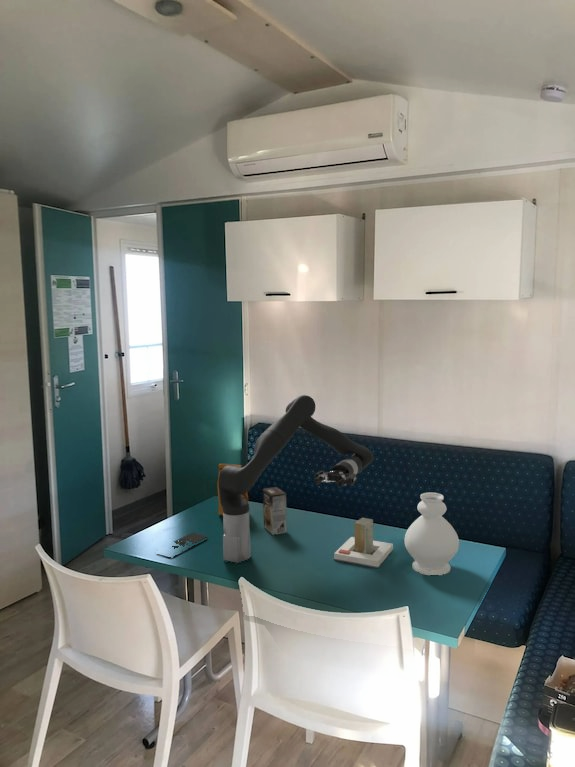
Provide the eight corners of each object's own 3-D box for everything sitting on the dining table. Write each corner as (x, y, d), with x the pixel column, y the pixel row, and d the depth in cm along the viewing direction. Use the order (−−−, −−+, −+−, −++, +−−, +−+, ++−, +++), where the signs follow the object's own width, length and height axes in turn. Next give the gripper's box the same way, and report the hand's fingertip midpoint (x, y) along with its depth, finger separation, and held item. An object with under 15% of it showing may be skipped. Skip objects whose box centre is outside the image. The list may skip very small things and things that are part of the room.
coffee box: (263, 527, 254) (261, 488, 252) (278, 524, 257) (276, 486, 254) (272, 535, 246) (271, 495, 244) (287, 532, 249) (286, 492, 246)
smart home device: (154, 550, 232) (191, 532, 248) (155, 554, 232) (192, 536, 249) (171, 555, 227) (208, 536, 244) (172, 559, 228) (208, 540, 244)
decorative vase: (394, 561, 221) (394, 491, 217) (438, 552, 227) (439, 484, 223) (423, 583, 204) (423, 508, 200) (469, 573, 210) (471, 500, 206)
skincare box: (363, 549, 230) (362, 516, 228) (373, 551, 228) (373, 519, 226) (354, 555, 225) (353, 522, 223) (364, 558, 222) (364, 524, 221)
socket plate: (378, 568, 216) (378, 559, 215) (334, 560, 223) (334, 551, 222) (392, 550, 230) (392, 542, 229) (351, 543, 237) (351, 535, 236)
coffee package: (241, 520, 262) (239, 468, 259) (215, 517, 267) (213, 466, 264) (252, 512, 271) (250, 462, 268) (226, 509, 276) (224, 459, 273)
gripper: (327, 459, 241) (308, 470, 227) (362, 463, 235) (346, 475, 220) (327, 478, 242) (309, 491, 228) (362, 483, 236) (346, 496, 222)
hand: (327, 483), depth 224 cm, fingers open, 8 cm apart
